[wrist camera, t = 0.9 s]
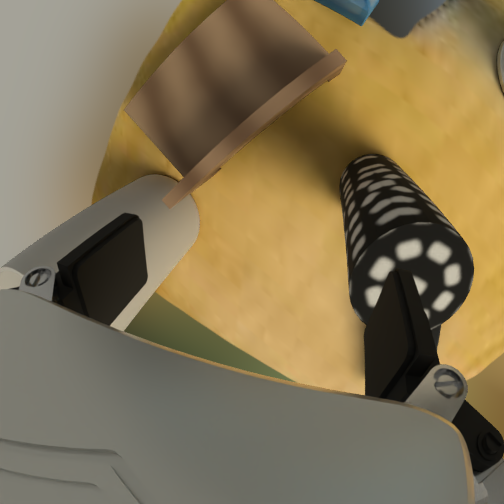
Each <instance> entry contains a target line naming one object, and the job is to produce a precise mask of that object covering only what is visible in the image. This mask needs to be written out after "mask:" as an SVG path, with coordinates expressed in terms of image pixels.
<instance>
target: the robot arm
mask: <svg viewBox="0 0 504 504" xmlns="http://www.w3.org/2000/svg"><path fill="white" fill-rule="evenodd" d="M497 68H498V75H499V80H500V84H501V87H502V90H503V92H504V41H503V42H502V43H501V46H500V48H499V51H498V56H497ZM57 266H58V269H59V271H58V272H57V273H56V272H55V270H54V269H53V268H52V267H50V266H39V267H35V268H33V269H31V270H29V271H28V272H27V273H26V274H25V275H24V276H23V278H22V280H21V283H20V286H19V287H15V288H11V289H0V504H504V459H503V458H502V457H503V453H504V440H503V438H502V436H501V434H500V433H499V431H498V430H497V429H496V428H495V427H494V426H493V425H492V424H491V423H490V422H488V421H487V420H486V419H485V418H484V417H483V416H482V415H481V414H480V413H479V412H478V411H477V410H475V409H474V408H473V407H472V406H471V405H470V404H469V403H468V402H467V401H466V400H465V398H466V395H467V392H468V386H467V383H466V380H465V378H464V377H463V375H462V374H461V373H460V372H459V371H458V370H457V369H455V368H454V367H452V366H449V365H442V364H440V363H439V358H438V354H437V350H436V346H435V342H434V339H433V335H432V331H431V328H430V324H429V321H428V317H427V314H426V312H425V311H424V308H423V305H422V302H421V298H420V295H419V292H418V289H417V286H416V283H415V280H414V277H413V275H412V272H411V271H407V270H403V269H398V268H396V269H395V270H394V272H393V271H390V272H389V273H388V276H387V278H386V281H385V283H384V286H383V288H382V291H381V293H380V296H379V298H378V300H377V303H376V305H375V307H374V310H373V312H372V314H371V317H370V319H369V321H368V323H367V325H366V328H365V332H364V347H365V395H359V394H353V393H347V392H341V391H336V390H330V389H325V388H320V387H315V386H310V385H305V384H300V383H295V382H290V381H286V380H281V379H277V378H273V377H268V376H264V375H260V374H256V373H252V372H248V371H244V370H241V369H237V368H233V367H230V366H226V365H222V364H219V363H215V362H212V361H209V360H205V359H202V358H198V357H195V356H192V355H189V354H186V353H183V352H179V351H177V350H174V349H171V348H168V347H165V346H161V345H159V344H156V343H153V342H150V341H148V340H145V339H142V338H139V337H137V336H134V335H131V334H129V333H126V332H123V331H121V330H118V329H116V328H113V327H111V326H110V325H111V324H112V323H113V322H114V320H115V319H116V318H117V317H118V316H119V314H120V313H121V312H122V311H123V310H124V308H125V307H126V306H127V305H128V304H129V303H130V301H131V300H132V299H133V298H134V297H135V296H136V294H137V293H138V292H139V291H140V290H141V289H142V288H143V286H144V285H145V284H146V282H147V279H148V272H147V263H146V254H145V244H144V233H143V223H142V220H141V219H140V218H139V216H138V215H136V214H131V213H123V214H121V215H120V216H118V217H117V218H115V219H114V220H113V221H111V222H110V223H108V224H107V225H106V226H104V227H103V228H101V229H100V230H99V231H97V232H96V233H95V234H93V235H92V236H90V237H89V238H88V239H86V240H85V241H84V242H82V243H81V244H80V245H78V246H77V247H76V248H75V249H73V250H72V251H71V252H69V253H68V254H67V255H66V256H64V257H63V258H62V259H61V260H59V261H58V262H57Z"/></svg>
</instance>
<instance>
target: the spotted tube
mask: <svg viewBox="0 0 504 504" xmlns="http://www.w3.org/2000/svg"><path fill="white" fill-rule="evenodd" d="M340 197H341V205H342V213H343V222H344V232H345V243H346V254H347V267H348V282H349V295H350V301H351V304H352V307H353V309H354V311H355V313H356V314H357V316H358V317H359V318H360V320H361V321H362V322H364V323H365V324H366V325H367V323H368V321H369V319H370V317H371V314H372V312H373V310H374V307H375V305H376V303H377V300H378V298H379V296H380V293H381V291H382V288H383V286H384V283H385V281H386V278H387V276H388V273H389V272H390V271H393V272H394V270H395V269H396V268H398V269H403V270H407V271H411V272H412V275H413V277H414V280H415V283H416V286H417V289H418V292H419V295H420V298H421V302H422V305H423V308H424V311H425V312H426V314H427V317H428V321H429V324H430V328H431V329H433V328H435V327H437V326H439V325H441V324H442V323H444V322H445V321H446V320H448V319H449V318H450V317H451V316H452V315H453V314H454V313H455V312H456V311H457V310H458V309H459V308H460V306H461V305H462V304H463V302H464V301H465V299H466V297H467V295H468V293H469V291H470V288H471V285H472V281H473V275H474V264H473V257H472V254H471V252H470V249H469V247H468V245H467V244H466V242H465V241H464V240H463V238H462V237H461V236H460V234H459V233H458V232H457V231H456V229H455V228H454V227H453V226H452V224H451V223H450V222H449V221H448V219H447V218H446V217H445V216H444V215H443V213H442V212H441V211H440V210H439V209H438V208H437V206H436V205H435V204H434V203H433V202H432V201H431V200H430V199H429V197H428V196H427V195H426V194H425V193H424V192H423V191H422V190H421V189H420V188H419V186H418V185H417V184H416V183H415V182H414V181H413V180H412V179H411V178H410V177H409V176H408V175H407V174H406V173H405V172H404V171H403V170H402V169H401V168H400V167H399V166H398V165H397V164H396V163H395V162H394V161H392V160H391V159H390V158H387V157H385V156H383V155H378V154H368V155H363V156H361V157H358V158H356V159H355V160H353V161H352V162H351V163H350V164H349V165H348V166H347V167H346V169H345V170H344V172H343V174H342V177H341V180H340Z"/></svg>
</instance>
